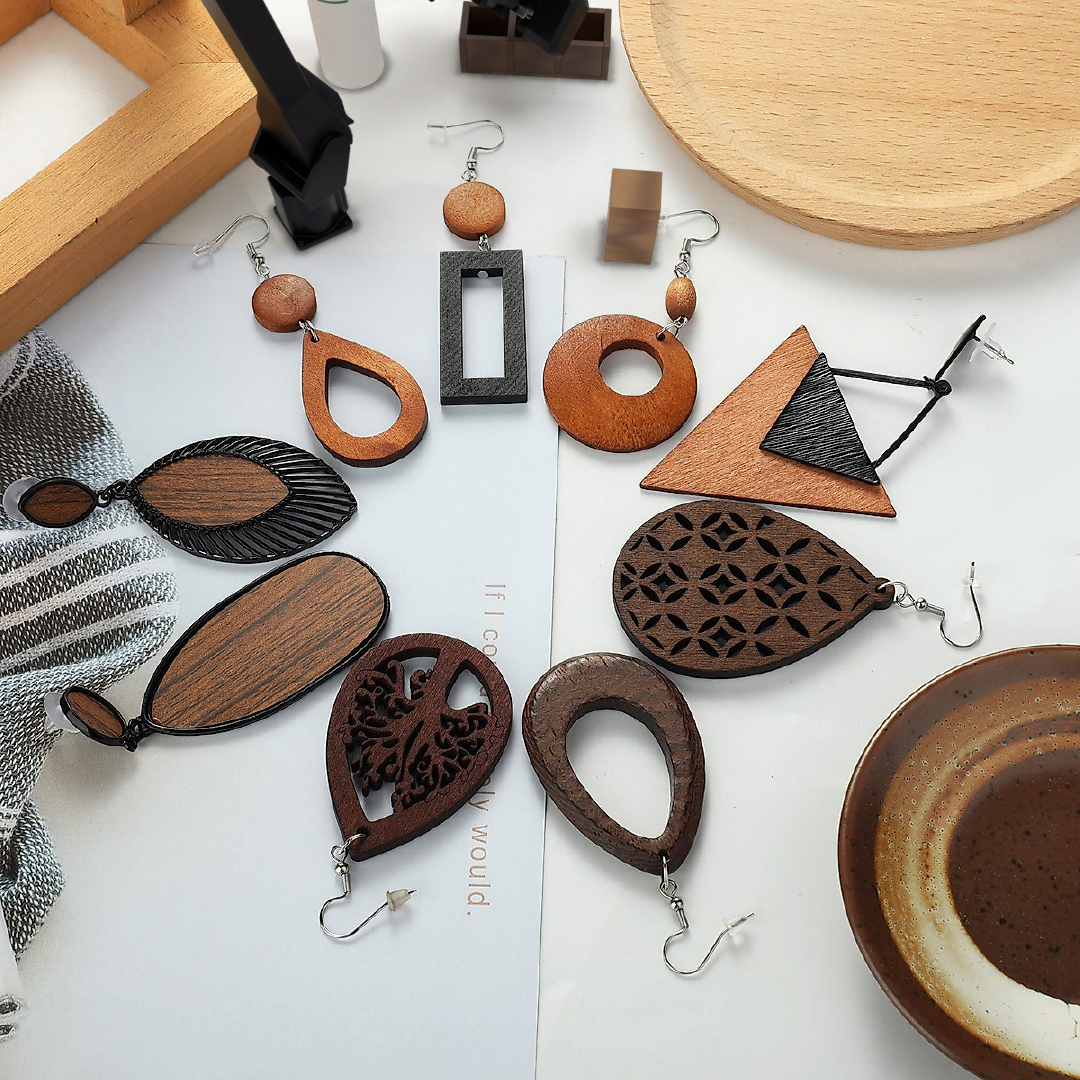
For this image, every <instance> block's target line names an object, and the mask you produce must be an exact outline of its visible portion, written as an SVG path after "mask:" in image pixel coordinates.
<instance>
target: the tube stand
mask: <svg viewBox="0 0 1080 1080" xmlns="http://www.w3.org/2000/svg"><path fill="white" fill-rule="evenodd" d="M611 169H612V170H611V178H610V187H609V195H608V204H607V213H606V221H605V234H604V246H603V261H604V262H617V263H628V264H641V265H651V264H652V261H653V255H654V251H655V250H654V249H655V246H656V245H655V244H656V241H657V240H656V239H657V234H658V228H659V223H660V218H661V212H662V196H663V193H662V191H663V171H657V170H656V171H655V170H643V169H630V168H617V167H613V168H611Z"/></svg>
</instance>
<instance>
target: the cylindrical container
mask: <svg viewBox="0 0 1080 1080" xmlns="http://www.w3.org/2000/svg"><path fill="white" fill-rule="evenodd" d="M306 3H307V7H308V12H309V15H310V16H309V17H310V20H311V26H312V30H313V34H314V38H315V43H316V47H317V53H318V57H319V61H320V66H321V71H322V74H323V76H324V77H325V79H326V81H328V83H330V84H332V85H333V86H335V87H338V88H342V89H346V90H347V89H348V90H357V89H361V88H366V87H368V86H370V85H372V84H374V83H375V82H376V81H378V79H379V78H381V76H382V74H383V72H384V70H385V59H384V53H383V47H382V41H381V35H380V27H379V22H378V21H379V20H378V15H377V14H378V13H377V8H376V1H375V0H306Z"/></svg>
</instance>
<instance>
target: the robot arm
mask: <svg viewBox="0 0 1080 1080" xmlns="http://www.w3.org/2000/svg"><path fill="white" fill-rule="evenodd" d="M200 1H201V3H202V5H203V7H204V8H205V9H206V11H207V13H208V15H209V16H210V17H211V20H212V21H213V22H214V24H215V26H216V27H217V29H218V31H219V33H220V34H221V35H222V37H223V39H224V40H225V42H226V43H227V45H228V47H229V48H230V50H231V51H232V53H233V55H234V56H235V58H236V60H237V61H238V63H239V65H240V66H241V68H242V69H243V71H244V72H245V74H246V76H247V78H248V79H249V81H250V83H251V84H252V85H253V88H255V91H256V93H257V96H256V102H255V110H256V112H257V116H258V118H259V121H260V124H259V125H258V126H259V127H258V129H257V131H256V134H255V136H254V139H253V141H252V143H251V146H250V148H249V151H248V153H247V156H248V158H250V160H251V161H252V162H253V163H254V164H255V165H256V166H257V167H259V169H262V170H263V171H264V172H266V174H268V176H267V179H266V180H267V182H268V185H269V188H270V191H271V195H272V197H273V200H274V204H275V205H274V206H273V207H272V210H273V213H274V215H275V216H276V218H277V220H278V221H279V222H280V224H281V225H282V227H283V230H285V232H286V233H287V235H288V236H289V238H290V240H291V241H292V243H293V244H294V246H295V247H296V249H297V250H299V251H303V250H306V249H308V248H311V247H312V246H314V245H317V244H319V243H321V242H323V241H326V240H328V239H329V238H330V239H331V238H332V237H334V236H336V235H339V234H341V233H344V232H345V231H348V230H350V229H351V228H353V227H354V221H353V220H352V218H351V217H350V215H349V214H348V212H347V211H348V210H349V208H350V205H349V201H348V197H347V192H346V188H345V187H346V186H347V182H348V173H349V165H350V156H351V145H353V143H354V135H353V131H352V128H351V125H354V123H355V120H354V119H353V118H352V117H350V116H349V115H348V114H347V112H346V110H345V106H344V102H343V99H342V97H341V95H340V94H339V92H338V91H336V89H334V88H332V87H331V86H330V85H329V84H327V83H326V82H325V81H323V80H322V79H321V78H320V77H318V76H317V75H316V74H314V73H313V72H312V71H311V70H310V69H308V68H307V67H305V65H303V64H302V63H300V62H299V61H297V60H296V58H295V56H294V53H293V52H292V51H291V49H290V47H289V44H288V43H287V41H286V39H285V37H284V35H283V34H282V31H281V30H280V28H279V27H278V25H277V23H276V21H275V19H274V17H273V15H272V13H271V12H270V9H269V8H268V5H267V4H266V2H265V0H200ZM435 1H436V0H428V2H430V3H433V2H435ZM471 1H473V2H474V3H475V4H477V5H478V6H480V7H482V8H485V7H486V8H487V9H488V10H490V11H491V12H493V13H494V14H495V15H497V16H498V17H500V18H501V19H503V20H505V19H506V17H507V15H508V13H509V11H510V10H511V11H513V12H514V13H516V14H517V15H518V16H520V17H521V18H520V20H519V22H518V24H517V26H516V29H518V30H519V31H521V32H522V33H523V34H525V35H526V38H527V39H528V40H530V41H531V42H533V43H534V44H536V45H537V46H538V47H540V48H541V49H543V50H544V51H546V52H547V53H548V54H550V55H552V56H554V57H556V58H560V57H563V56H564V55H565V53H566V51H567V49H568V48H569V46H570V44H571V42H572V40H573V38H574V36H575V34H576V33H577V31H578V29H579V27H580V25H581V23H582V21H583V19H584V18H585V16H586V14H587V12H588V10H589V7H590V4H589V0H470V2H471Z"/></svg>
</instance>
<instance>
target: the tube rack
mask: <svg viewBox="0 0 1080 1080" xmlns="http://www.w3.org/2000/svg"><path fill="white" fill-rule="evenodd" d="M612 17H613V9H612V8H607V7H606V8H605V7H590V6H589V10H588V12H587V14H586V16H585V18H584V19H583V21H582V23H581V25H580V27H579V29H578V31H577V33H576V34H575V36H574V38H573V40H572V42H571V44H570V46H569V48H568V49H567V51H566V53H565V55H564V56H563V57H560V58H556V57H554V56H552V55H550V54H548V53H547V52H546V51H544V50H543V49H541V48H540V47H538V46H537V45H536V44H534V43H533V42H531V41H530V40H528V39H527V38H523V37H522V32H521V31H519V30H518V29H516V26H517V24H518V22H519V20H520V18H521V17H520V16H518V15H517V14H516V13H514V12H513V11H511V10H510V11H509V13H508V15H507V17H506V19H505V20H503V19H501V18H500V17H498V16H497V15H495V14H494V13H493V12H491V11H490V10H488V9H487V8H486V7H485V8H482V7H480V6H478V5H477V4H475V3H474V2H473V1H471V0H463V1H462V9H461V17H460V24H459V25H460V26H459V34H458V49H459V64H460V73H462V74H479V75H481V74H482V75H500V76H521V77H538V78H556V79H557V78H558V79H574V80H575V79H576V80H594V81H608V78H609V69H610V59H611V58H610V57H611V45H612Z"/></svg>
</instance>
